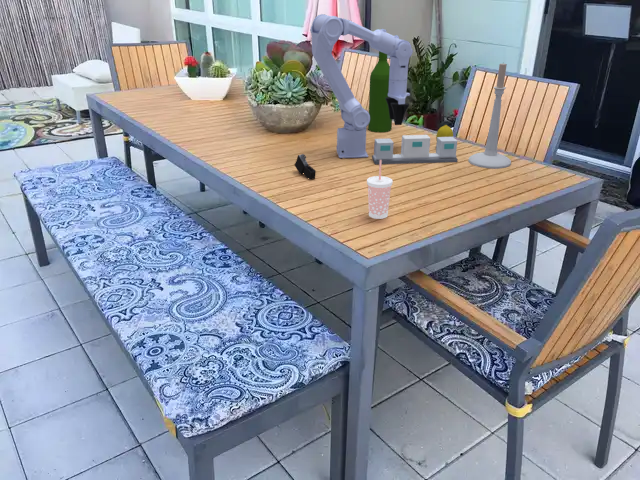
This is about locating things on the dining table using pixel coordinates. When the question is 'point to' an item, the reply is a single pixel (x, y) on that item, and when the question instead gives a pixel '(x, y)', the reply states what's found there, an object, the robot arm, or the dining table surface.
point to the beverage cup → (379, 195)
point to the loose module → (415, 146)
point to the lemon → (444, 132)
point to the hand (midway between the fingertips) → (395, 122)
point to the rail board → (443, 154)
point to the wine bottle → (379, 96)
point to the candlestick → (493, 132)
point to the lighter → (304, 167)
